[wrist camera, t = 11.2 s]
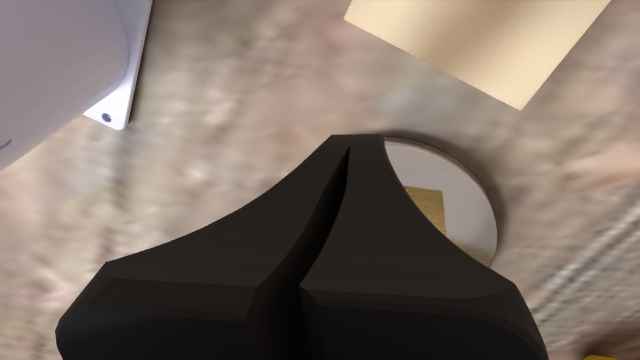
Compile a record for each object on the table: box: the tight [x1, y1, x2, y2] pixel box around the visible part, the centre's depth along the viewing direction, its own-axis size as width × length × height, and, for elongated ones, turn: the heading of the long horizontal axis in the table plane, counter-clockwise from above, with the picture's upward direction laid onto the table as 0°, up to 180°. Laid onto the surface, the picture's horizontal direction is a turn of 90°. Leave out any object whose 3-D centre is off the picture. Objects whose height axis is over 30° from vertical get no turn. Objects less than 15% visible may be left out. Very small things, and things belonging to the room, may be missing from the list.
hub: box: [383, 137, 497, 268], centre depth 23 cm, size 12×12×4 cm
